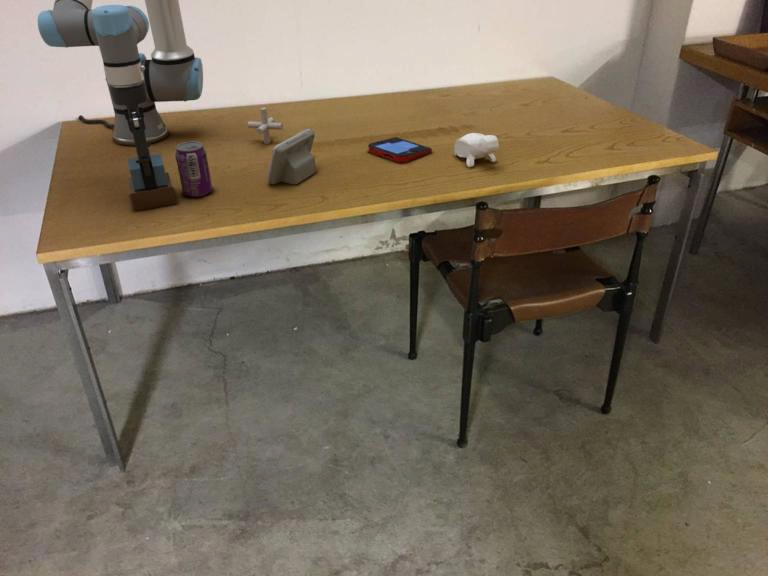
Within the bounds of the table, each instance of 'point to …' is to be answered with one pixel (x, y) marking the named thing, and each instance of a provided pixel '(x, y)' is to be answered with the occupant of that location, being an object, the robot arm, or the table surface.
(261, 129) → the pipe connector
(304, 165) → the digital clock
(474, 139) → the white toy sheep
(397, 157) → the game console
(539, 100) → the table surface
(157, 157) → the blue block
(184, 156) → the beverage can
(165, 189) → the walnut block
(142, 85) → the robot arm
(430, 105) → the table surface
